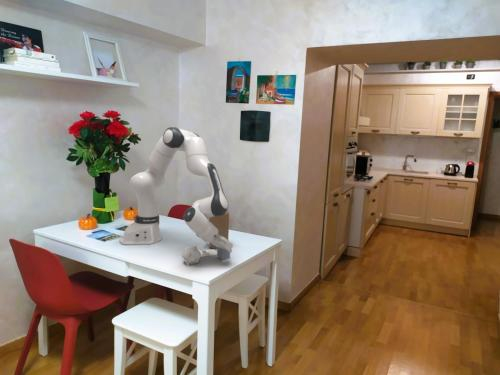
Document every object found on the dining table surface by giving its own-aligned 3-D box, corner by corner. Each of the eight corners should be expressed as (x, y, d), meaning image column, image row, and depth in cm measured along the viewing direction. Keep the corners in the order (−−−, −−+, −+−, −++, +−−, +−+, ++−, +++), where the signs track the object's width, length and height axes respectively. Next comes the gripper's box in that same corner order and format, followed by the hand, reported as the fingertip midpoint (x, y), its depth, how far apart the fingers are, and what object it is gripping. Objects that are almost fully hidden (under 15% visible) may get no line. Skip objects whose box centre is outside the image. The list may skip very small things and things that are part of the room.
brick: (222, 260, 181) (222, 244, 180) (216, 257, 184) (217, 242, 183) (229, 258, 184) (230, 243, 183) (224, 255, 188) (224, 240, 186)
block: (228, 248, 199) (229, 212, 195) (209, 248, 197) (210, 212, 194) (226, 242, 208) (227, 208, 205) (208, 243, 207) (209, 208, 204)
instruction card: (195, 257, 184) (195, 256, 184) (192, 251, 191) (192, 251, 191) (218, 254, 188) (218, 254, 188) (214, 249, 196) (214, 249, 196)
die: (178, 263, 176) (180, 252, 170) (186, 250, 183) (189, 239, 176) (193, 271, 176) (196, 260, 169) (201, 257, 182) (204, 246, 175)
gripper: (226, 233, 169) (241, 249, 177) (200, 223, 184) (216, 238, 192) (218, 244, 167) (234, 260, 175) (193, 233, 182) (209, 248, 190)
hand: (224, 248), depth 184 cm, fingers open, 8 cm apart
